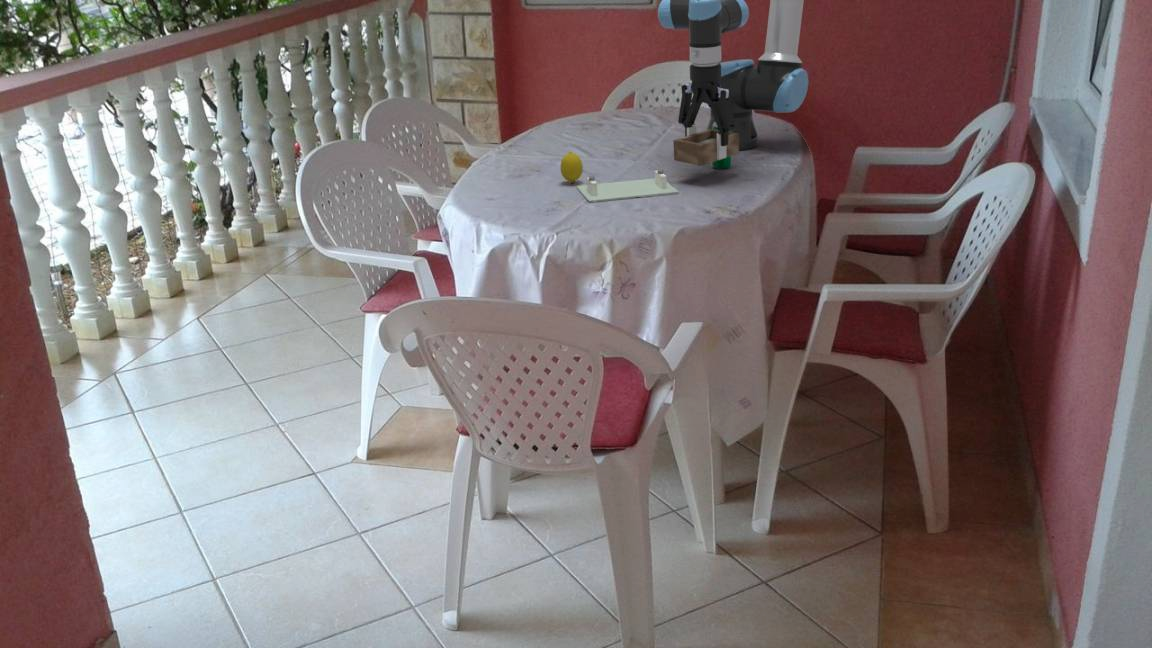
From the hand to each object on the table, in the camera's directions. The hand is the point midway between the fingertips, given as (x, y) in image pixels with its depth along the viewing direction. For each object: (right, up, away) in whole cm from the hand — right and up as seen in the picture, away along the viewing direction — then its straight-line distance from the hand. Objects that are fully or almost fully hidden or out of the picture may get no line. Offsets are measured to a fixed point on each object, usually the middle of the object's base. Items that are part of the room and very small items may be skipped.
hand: (706, 155), depth 256 cm
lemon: (-33, -6, +4) cm, 34 cm away
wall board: (-20, -9, -5) cm, 23 cm away
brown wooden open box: (0, 0, 0) cm, 0 cm away
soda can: (+6, -1, +12) cm, 14 cm away
